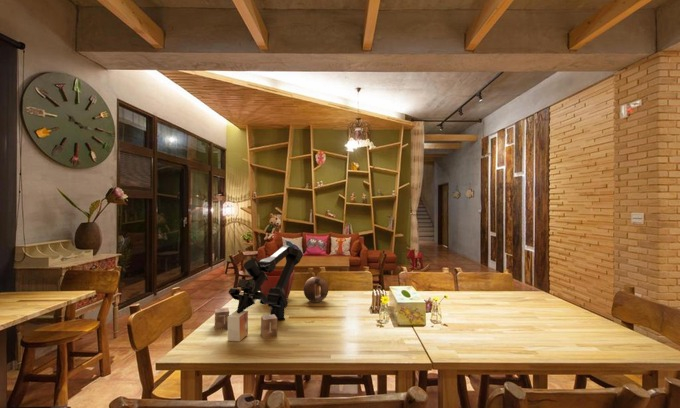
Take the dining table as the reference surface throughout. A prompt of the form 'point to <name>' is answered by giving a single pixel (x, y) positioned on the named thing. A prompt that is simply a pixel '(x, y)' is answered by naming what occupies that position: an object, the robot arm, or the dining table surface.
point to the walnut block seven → (221, 318)
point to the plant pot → (273, 280)
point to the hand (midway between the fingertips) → (237, 312)
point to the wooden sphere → (315, 289)
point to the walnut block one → (269, 326)
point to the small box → (237, 326)
